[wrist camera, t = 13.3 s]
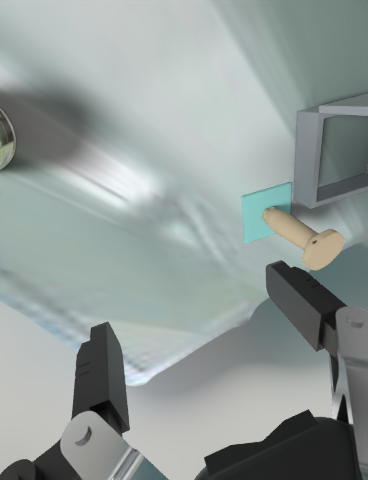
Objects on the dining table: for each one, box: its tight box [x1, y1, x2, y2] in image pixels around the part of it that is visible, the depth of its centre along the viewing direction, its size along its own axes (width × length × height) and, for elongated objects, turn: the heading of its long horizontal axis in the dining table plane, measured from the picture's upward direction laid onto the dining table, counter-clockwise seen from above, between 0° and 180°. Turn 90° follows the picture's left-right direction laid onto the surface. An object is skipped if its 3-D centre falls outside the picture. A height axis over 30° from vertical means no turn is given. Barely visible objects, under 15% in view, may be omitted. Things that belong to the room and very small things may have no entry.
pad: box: [242, 182, 291, 243], centre depth 51 cm, size 10×10×1 cm
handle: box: [262, 207, 345, 270], centre depth 44 cm, size 5×6×15 cm
